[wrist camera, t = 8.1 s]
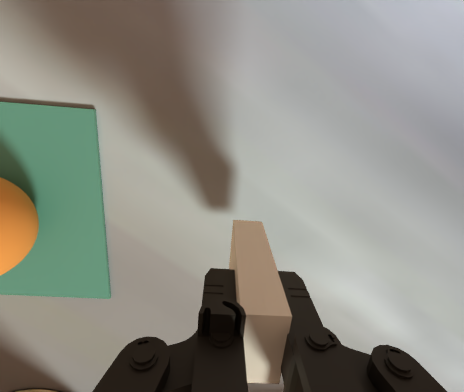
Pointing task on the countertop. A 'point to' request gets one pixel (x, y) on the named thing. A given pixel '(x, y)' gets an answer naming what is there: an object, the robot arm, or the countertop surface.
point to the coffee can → (35, 390)
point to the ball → (15, 225)
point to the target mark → (57, 199)
